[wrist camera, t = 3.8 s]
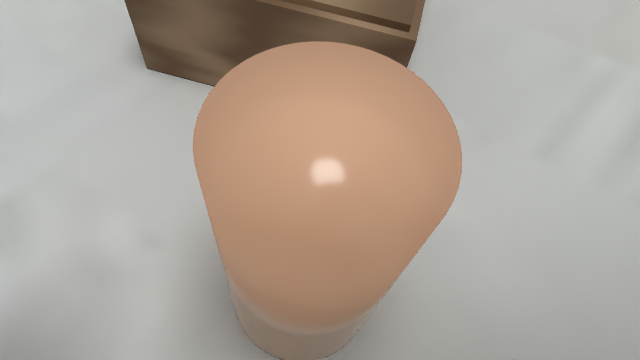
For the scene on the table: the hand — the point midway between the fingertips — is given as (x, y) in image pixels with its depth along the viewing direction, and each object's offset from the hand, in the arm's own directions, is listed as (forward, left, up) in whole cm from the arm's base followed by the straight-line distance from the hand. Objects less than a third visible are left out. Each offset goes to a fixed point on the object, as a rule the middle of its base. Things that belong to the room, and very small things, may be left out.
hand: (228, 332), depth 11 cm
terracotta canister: (-1, -4, -9) cm, 10 cm away
